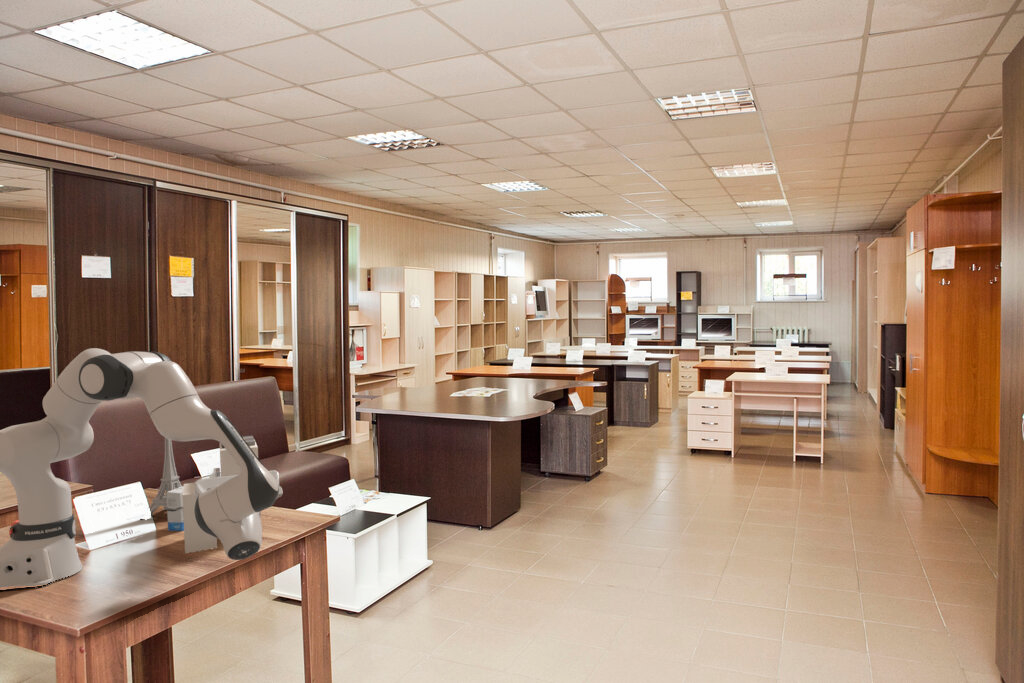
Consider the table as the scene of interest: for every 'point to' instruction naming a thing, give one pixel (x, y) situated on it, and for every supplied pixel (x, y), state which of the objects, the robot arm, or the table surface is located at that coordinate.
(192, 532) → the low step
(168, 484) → the eiffel tower
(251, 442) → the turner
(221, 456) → the tall stand
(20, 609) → the table surface
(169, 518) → the ink box
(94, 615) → the table surface
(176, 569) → the table surface
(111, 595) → the table surface
